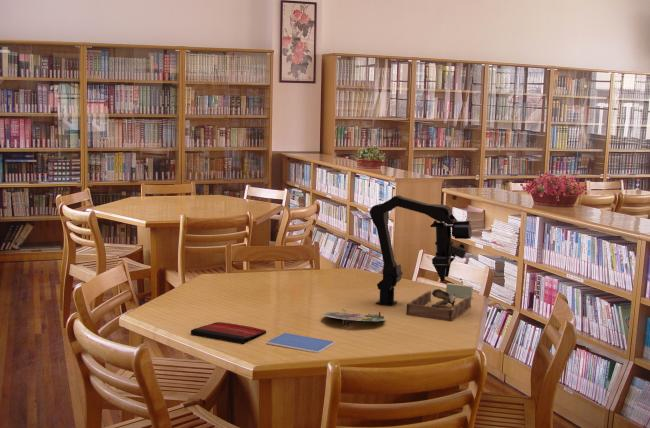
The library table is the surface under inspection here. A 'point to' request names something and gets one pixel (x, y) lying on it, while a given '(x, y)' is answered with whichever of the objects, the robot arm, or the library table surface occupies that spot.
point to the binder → (228, 332)
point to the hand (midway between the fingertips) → (444, 279)
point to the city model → (354, 317)
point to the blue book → (301, 343)
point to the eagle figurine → (444, 296)
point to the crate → (434, 312)
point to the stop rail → (459, 290)
